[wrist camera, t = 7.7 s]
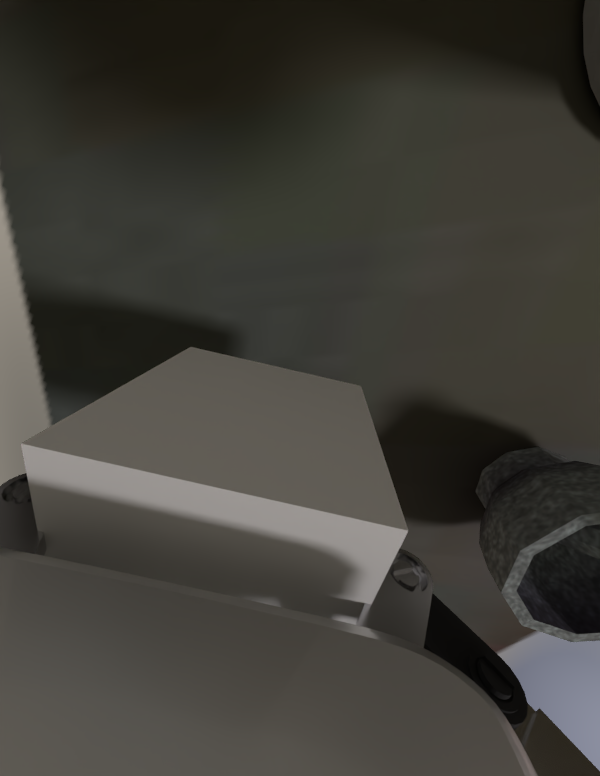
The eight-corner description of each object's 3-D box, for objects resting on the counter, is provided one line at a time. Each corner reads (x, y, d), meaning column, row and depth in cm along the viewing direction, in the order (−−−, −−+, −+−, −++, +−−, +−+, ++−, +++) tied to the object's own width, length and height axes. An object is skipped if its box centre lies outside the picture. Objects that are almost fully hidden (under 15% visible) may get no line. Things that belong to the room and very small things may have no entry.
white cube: (190, 346, 12) (20, 443, 5) (360, 386, 12) (408, 531, 5) (181, 482, 14) (62, 659, 8) (319, 513, 14) (316, 714, 8)
